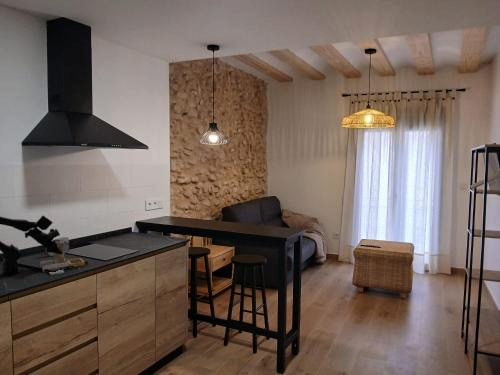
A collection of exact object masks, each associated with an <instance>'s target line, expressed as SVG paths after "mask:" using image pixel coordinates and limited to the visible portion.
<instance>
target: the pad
mask: <svg viewBox="0 0 500 375" xmlns="http://www.w3.org/2000/svg"><path fill="white" fill-rule="evenodd" d="M48 273H49V275H50V276H54V275H59V274H64V273H65V271H64V268H63V269H62V270H58V271H56V272H48Z"/></svg>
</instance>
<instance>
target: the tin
mask: <svg viewBox="0 0 500 375" xmlns="http://www.w3.org/2000/svg"><path fill="white" fill-rule="evenodd" d="M63 242H64V255H65V254H67V253H68V252H69V251H70V249H71V248H70V247H71V246H70V244H68V243H67V242H65V241H63ZM46 247H47V246H46ZM46 247H45V248H44V253H45V254H46V255H47V256H49V257H53V253H52V252H50V253H49V252H47V251H46Z"/></svg>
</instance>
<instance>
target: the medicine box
mask: <svg viewBox="0 0 500 375" xmlns="http://www.w3.org/2000/svg"><path fill="white" fill-rule="evenodd" d="M54 240H55V242H60V241H65V242H67V243H68V244H69V243H70V242H69V237H68V236H67V237H66V236H63V237H59V238H54ZM69 245H70V244H69Z"/></svg>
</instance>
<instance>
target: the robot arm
mask: <svg viewBox="0 0 500 375" xmlns="http://www.w3.org/2000/svg"><path fill="white" fill-rule="evenodd" d="M53 224H54V222H53V221H52V220H51V219H49V218H48V217H46V216H45V215H42V216H41V217H39V219H38V220H37V221H29V220H28V219H21V218H20V219H17V218H15V219H13V218H8V217H4V216H0V225H2V226H7V227H11V228H13V229H15V230H17V231H21V232H24V238H25V239H28V238H29V237H31V239H32V240H34V241H35V242H36V243H38V244H39V245H41V246H42V247H43V248H44V249H45V248H46V251H47V252H49V253H50V252H52V253H57V254H61V255H62V254H63V253H62V252H61V251H60V249H59V248H58V247H57V245H58V244H57V243H56V242H55V239H56V237H59V236H61V234H60V232H59V230H58V229H57V228H55V229H54V228H51V229H49V227H50V226H51V225H53ZM48 229H49V232H48V233H46V232H43V231H46V230H48ZM46 246H47V247H46ZM0 252H1V253H2V254H3V255H4V257H3V258H2V260H3V263H2V273H0V275H3V276H5V277H6V276H7V277H10V276H14V275H17V274H20V271H19V264H18V260H20V258H21V252H20V250H19V247H17V246H15V245H14V244H12V243H10V245H9V244H5V243H4V242H2V241H1V240H0Z"/></svg>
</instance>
